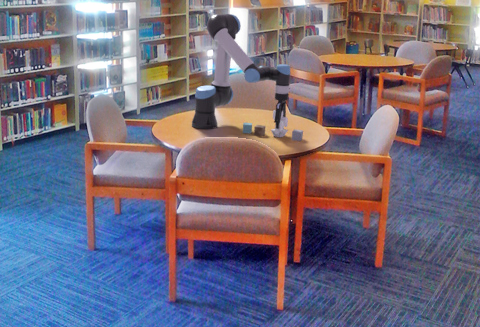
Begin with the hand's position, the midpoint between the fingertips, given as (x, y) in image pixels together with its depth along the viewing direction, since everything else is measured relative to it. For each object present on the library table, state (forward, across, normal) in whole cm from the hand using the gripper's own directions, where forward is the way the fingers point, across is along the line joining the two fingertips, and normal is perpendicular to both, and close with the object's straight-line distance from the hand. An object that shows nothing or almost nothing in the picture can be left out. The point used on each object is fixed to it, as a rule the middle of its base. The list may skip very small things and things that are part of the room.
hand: (279, 132), depth 333 cm
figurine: (+3, 0, 0) cm, 3 cm away
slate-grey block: (+2, -2, -11) cm, 11 cm away
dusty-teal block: (+2, 0, +19) cm, 19 cm away
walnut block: (+2, -2, +11) cm, 11 cm away
